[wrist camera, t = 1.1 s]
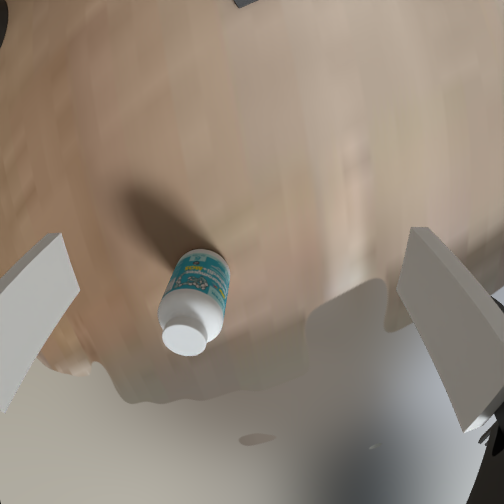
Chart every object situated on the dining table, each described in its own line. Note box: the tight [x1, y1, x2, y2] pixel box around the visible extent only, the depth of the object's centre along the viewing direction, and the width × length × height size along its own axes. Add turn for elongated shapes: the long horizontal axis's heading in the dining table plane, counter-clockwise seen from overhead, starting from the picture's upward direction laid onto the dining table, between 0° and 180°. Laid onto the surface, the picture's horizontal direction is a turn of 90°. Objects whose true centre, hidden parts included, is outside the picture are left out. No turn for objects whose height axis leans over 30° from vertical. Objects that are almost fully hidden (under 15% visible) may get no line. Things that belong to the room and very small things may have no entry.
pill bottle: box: [158, 249, 230, 356], centre depth 36 cm, size 8×7×14 cm
